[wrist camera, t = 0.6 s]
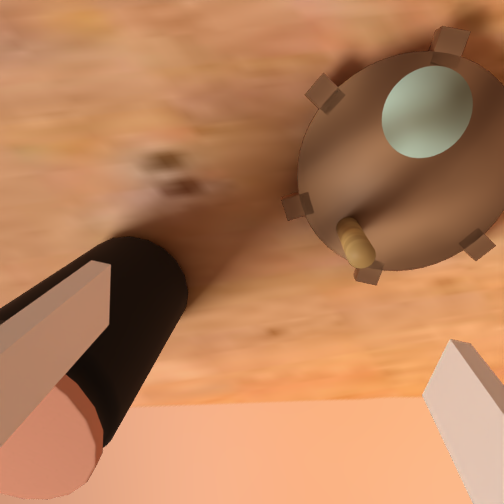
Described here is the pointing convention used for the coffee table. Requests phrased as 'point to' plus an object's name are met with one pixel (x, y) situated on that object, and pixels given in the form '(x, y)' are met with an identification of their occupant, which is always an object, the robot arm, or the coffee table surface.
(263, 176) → the coffee table surface
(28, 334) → the robot arm
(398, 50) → the coffee table surface
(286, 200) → the turntable
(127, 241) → the coffee jar
